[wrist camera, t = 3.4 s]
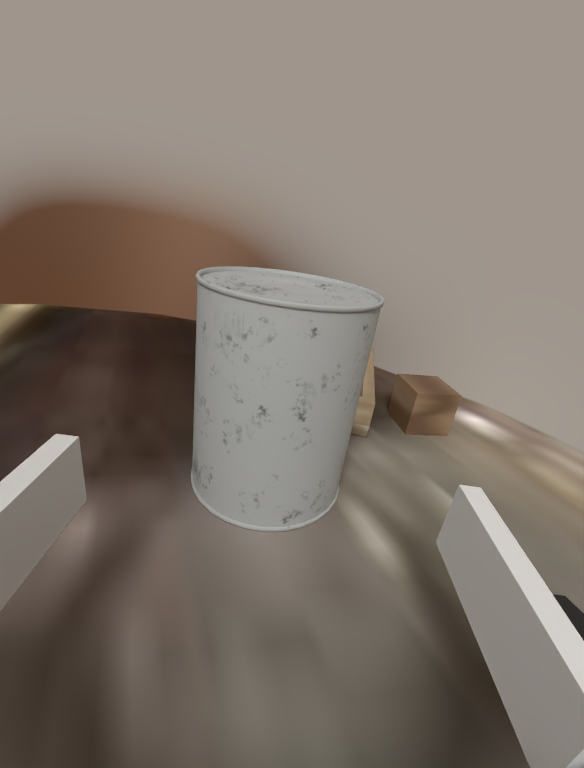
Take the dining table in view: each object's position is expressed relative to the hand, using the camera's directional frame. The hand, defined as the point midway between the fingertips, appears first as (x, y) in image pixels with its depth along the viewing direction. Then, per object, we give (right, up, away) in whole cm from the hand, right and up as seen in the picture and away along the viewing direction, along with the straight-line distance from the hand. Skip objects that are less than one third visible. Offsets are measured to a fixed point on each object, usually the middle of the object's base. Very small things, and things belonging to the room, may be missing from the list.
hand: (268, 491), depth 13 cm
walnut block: (+12, 0, +20) cm, 24 cm away
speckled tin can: (-1, -2, +11) cm, 11 cm away
